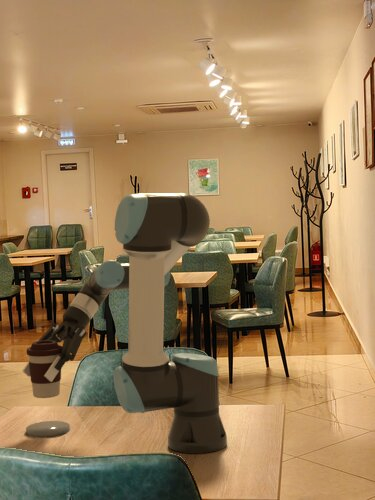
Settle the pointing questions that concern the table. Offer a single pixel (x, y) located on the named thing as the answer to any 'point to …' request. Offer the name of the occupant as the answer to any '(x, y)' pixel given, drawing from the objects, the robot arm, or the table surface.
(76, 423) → the table surface
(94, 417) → the table surface
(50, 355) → the coffee cup
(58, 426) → the slate coaster
